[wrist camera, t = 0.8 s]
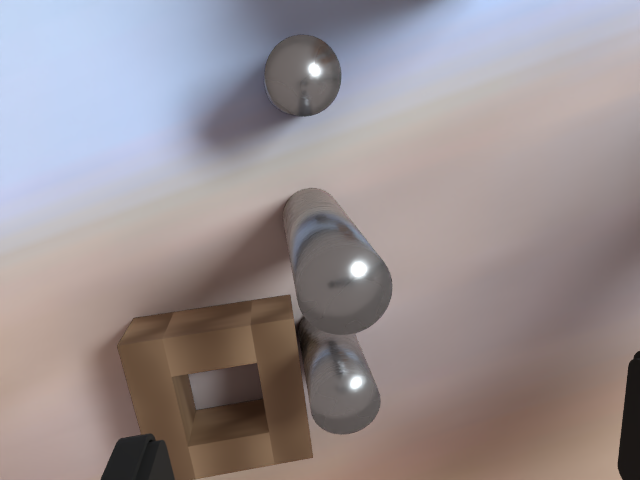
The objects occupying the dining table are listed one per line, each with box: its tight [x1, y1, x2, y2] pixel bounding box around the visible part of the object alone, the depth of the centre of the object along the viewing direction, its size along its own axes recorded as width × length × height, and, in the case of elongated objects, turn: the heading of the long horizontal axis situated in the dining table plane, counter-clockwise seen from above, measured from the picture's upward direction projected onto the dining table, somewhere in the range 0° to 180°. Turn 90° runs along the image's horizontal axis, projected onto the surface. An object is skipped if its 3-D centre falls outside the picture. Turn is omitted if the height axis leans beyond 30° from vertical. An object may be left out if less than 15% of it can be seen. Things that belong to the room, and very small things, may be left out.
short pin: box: [264, 35, 341, 116], centre depth 23 cm, size 4×4×5 cm
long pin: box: [283, 188, 392, 335], centre depth 22 cm, size 4×4×12 cm
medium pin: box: [299, 317, 380, 434], centre depth 27 cm, size 4×4×8 cm
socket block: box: [117, 295, 313, 480], centre depth 29 cm, size 10×10×4 cm
